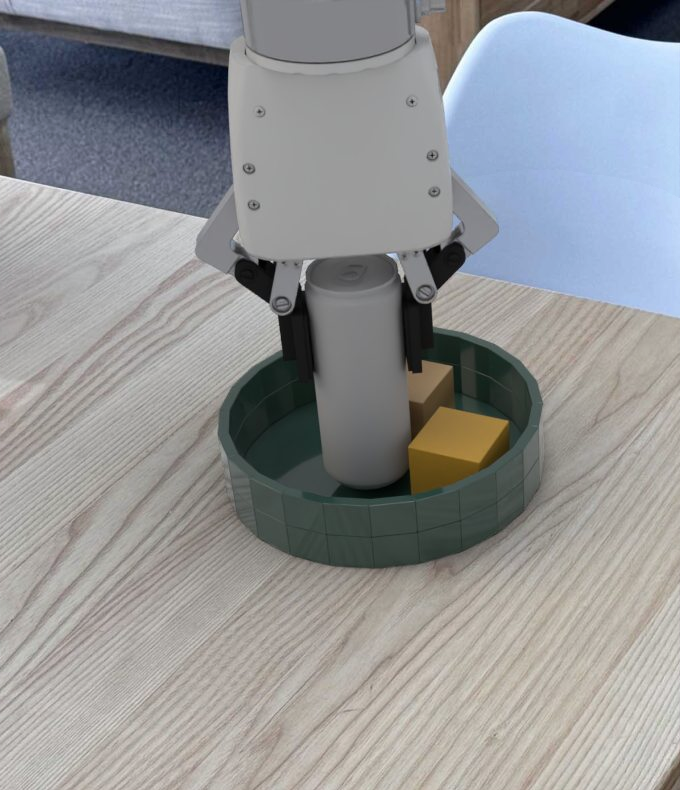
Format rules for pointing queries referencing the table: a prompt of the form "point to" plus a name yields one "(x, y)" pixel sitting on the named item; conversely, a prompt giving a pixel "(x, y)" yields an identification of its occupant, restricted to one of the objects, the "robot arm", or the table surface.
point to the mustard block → (455, 448)
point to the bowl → (386, 504)
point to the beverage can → (359, 368)
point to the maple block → (429, 393)
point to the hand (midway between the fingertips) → (359, 361)
